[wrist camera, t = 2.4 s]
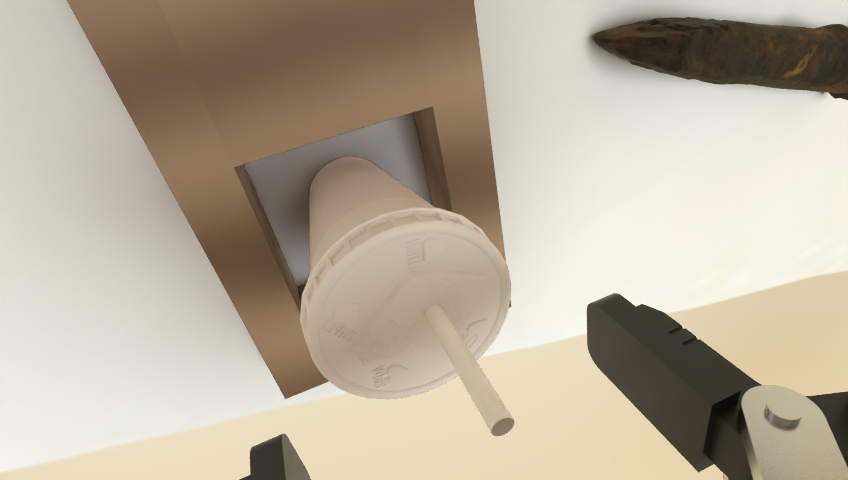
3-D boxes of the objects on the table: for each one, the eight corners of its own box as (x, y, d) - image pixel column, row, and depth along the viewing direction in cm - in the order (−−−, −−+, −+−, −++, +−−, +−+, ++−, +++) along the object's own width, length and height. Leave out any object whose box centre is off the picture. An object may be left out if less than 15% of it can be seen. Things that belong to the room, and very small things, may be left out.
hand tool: (855, 26, 28) (954, 32, 24) (821, 95, 30) (909, 110, 26) (603, -30, 21) (685, -34, 17) (578, 64, 23) (648, 79, 19)
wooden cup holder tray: (-314, -790, 8) (-567, -1147, 6) (326, -749, 11) (356, -992, 8) (280, 356, 24) (286, 402, 22) (485, 276, 27) (513, 308, 24)
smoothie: (436, 210, 23) (629, 430, 12) (328, 278, 23) (418, 572, 12) (375, 98, 20) (567, 257, 8) (246, 177, 20) (259, 458, 8)
